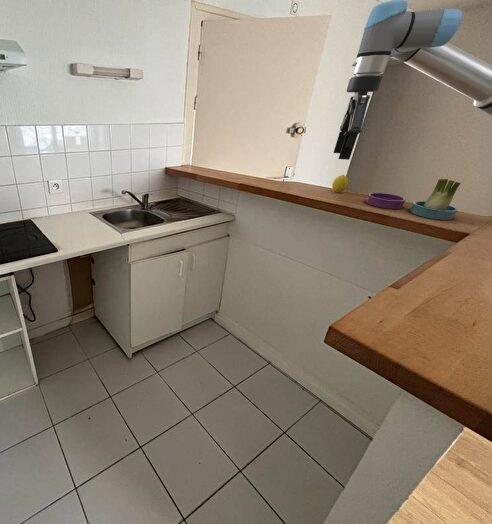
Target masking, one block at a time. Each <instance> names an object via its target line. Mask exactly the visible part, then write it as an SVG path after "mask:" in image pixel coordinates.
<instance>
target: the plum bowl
mask: <svg viewBox="0 0 492 524" xmlns="http://www.w3.org/2000/svg"><path fill="white" fill-rule="evenodd" d="M406 201H407V198H406V197H404V196H401V195H397V194H393V193H386V192H370V193H369V194H368V195H367V198H366V200H365V203H366V204H368V205H370V206H373V207H376V208H381V209H388V210H400V209H402V208H403V207H404V205H405V203H406Z"/></svg>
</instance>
